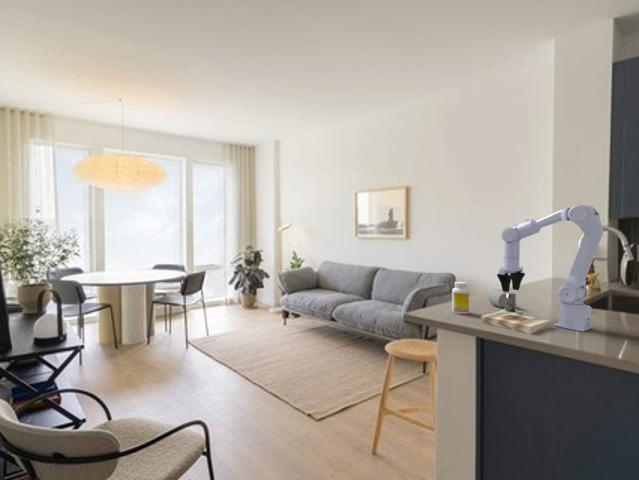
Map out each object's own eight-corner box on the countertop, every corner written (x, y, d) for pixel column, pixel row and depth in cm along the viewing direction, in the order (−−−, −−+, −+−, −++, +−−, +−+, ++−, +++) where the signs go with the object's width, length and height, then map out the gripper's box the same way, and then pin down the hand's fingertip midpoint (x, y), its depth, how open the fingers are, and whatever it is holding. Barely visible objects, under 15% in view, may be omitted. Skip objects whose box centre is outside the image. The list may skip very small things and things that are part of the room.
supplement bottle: (471, 314, 154) (471, 283, 153) (454, 314, 154) (455, 283, 153) (465, 310, 160) (465, 281, 160) (449, 310, 160) (450, 281, 160)
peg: (517, 311, 151) (517, 294, 151) (512, 312, 149) (512, 295, 149) (508, 309, 154) (508, 292, 154) (503, 310, 152) (504, 293, 152)
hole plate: (549, 327, 135) (549, 320, 135) (530, 333, 127) (530, 326, 127) (501, 317, 150) (501, 310, 149) (481, 322, 142) (481, 315, 141)
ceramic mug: (499, 309, 163) (499, 291, 163) (487, 305, 171) (488, 288, 171) (520, 308, 165) (521, 291, 165) (508, 304, 173) (509, 288, 173)
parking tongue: (523, 316, 151) (523, 311, 151) (514, 318, 147) (514, 313, 147) (506, 312, 156) (506, 308, 156) (497, 315, 152) (497, 310, 152)
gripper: (511, 255, 158) (510, 287, 159) (492, 257, 150) (491, 291, 150) (528, 257, 152) (527, 290, 153) (509, 259, 144) (508, 293, 145)
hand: (510, 290), depth 151 cm, fingers open, 7 cm apart
